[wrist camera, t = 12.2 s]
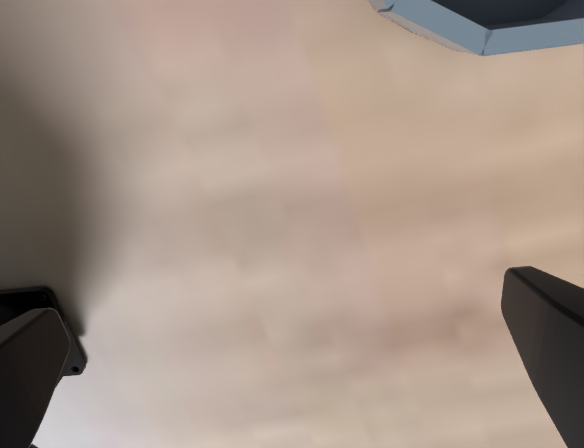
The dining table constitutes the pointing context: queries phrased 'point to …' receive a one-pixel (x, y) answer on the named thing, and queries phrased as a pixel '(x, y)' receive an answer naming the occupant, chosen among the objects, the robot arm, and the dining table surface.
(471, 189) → the dining table surface
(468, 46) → the bowl
